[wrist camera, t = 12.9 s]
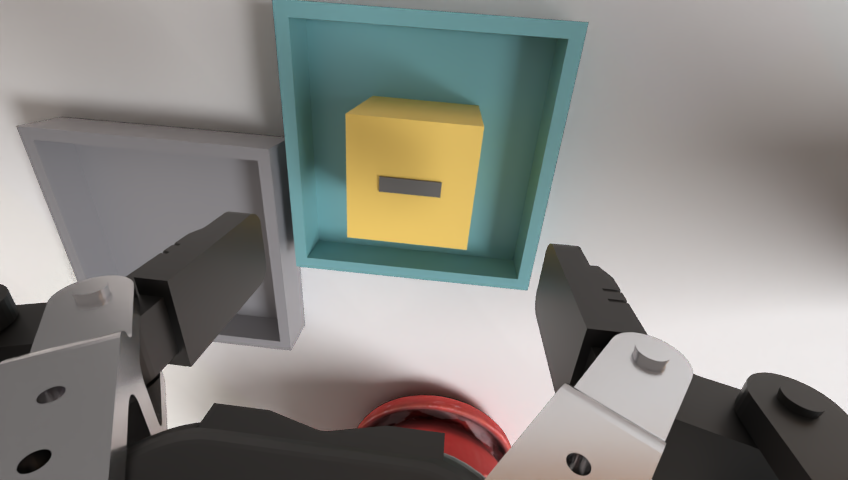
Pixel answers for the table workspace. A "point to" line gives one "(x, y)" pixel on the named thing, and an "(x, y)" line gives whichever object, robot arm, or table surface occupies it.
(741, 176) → the table surface
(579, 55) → the tray
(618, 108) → the table surface
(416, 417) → the plant pot
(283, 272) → the tray
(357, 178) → the marked block
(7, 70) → the table surface
